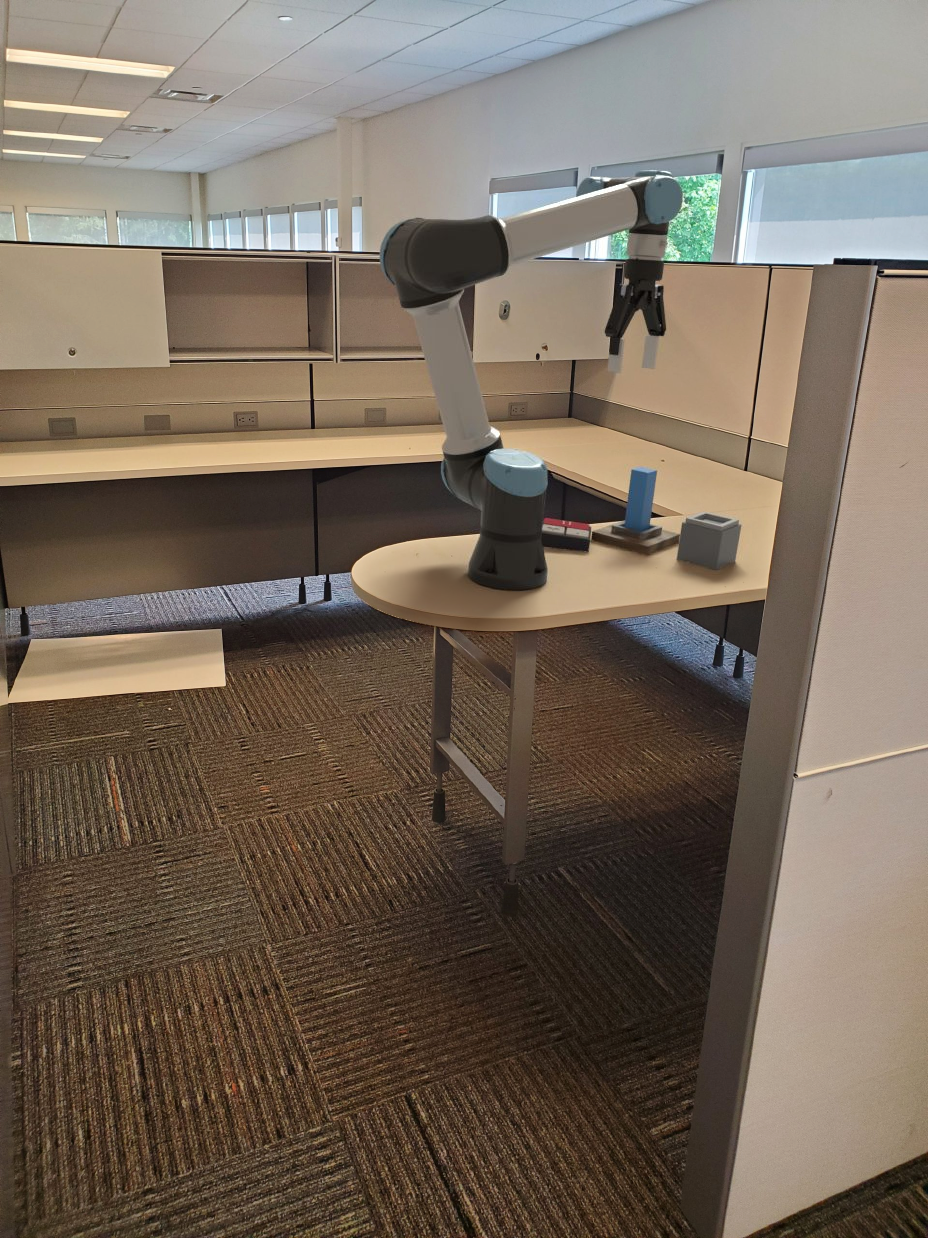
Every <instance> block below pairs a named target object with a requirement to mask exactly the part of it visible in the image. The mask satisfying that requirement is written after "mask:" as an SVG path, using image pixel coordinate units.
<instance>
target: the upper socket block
mask: <svg viewBox="0 0 928 1238" xmlns="http://www.w3.org/2000/svg"><path fill="white" fill-rule="evenodd" d="M739 522H740V519H738V518H733V517H729V516H726V515H725V516H724V515H721V514H717V513H713V512H708V511H701V512H699V513H695V514H694V515H691V516H687V517H686V518H685V521H683V522H681V526H680V527H681V528H680V532H679V534H680V538H679V543H678V549H677V553H676V560H678V561H681V562H683V563H684V562H685V563H689V564H691V565H696V566H699V567H703V568H706V569H710V570H714V571H717V570H720V569H722V568H724V567H726V566H727V565H730V564H732V563H734V562H736V559H737V552H738V549H739V548H738V546H739V542H740V541H739V540H740V535H741V531H742V523H739Z"/></svg>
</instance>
